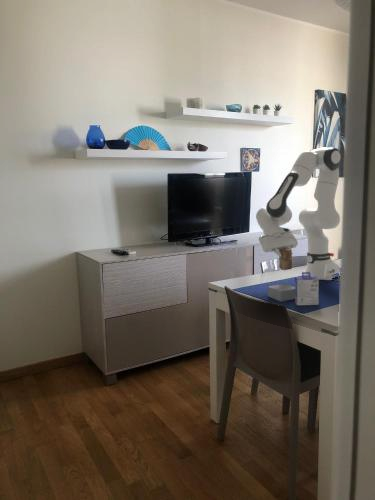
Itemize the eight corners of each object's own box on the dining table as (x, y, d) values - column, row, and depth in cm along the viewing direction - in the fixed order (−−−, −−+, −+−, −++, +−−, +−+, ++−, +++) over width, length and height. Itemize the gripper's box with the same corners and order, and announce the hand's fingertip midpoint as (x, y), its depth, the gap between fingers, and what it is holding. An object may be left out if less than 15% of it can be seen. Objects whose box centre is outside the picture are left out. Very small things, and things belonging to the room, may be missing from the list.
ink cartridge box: (315, 301, 191) (316, 271, 189) (319, 305, 186) (319, 274, 183) (294, 302, 191) (294, 272, 189) (297, 305, 186) (297, 274, 183)
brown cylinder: (286, 267, 213) (286, 248, 211) (291, 268, 209) (291, 249, 207) (279, 268, 211) (278, 249, 209) (284, 270, 207) (284, 250, 205)
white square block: (284, 293, 206) (284, 283, 205) (297, 298, 197) (297, 288, 196) (268, 296, 202) (268, 286, 201) (280, 301, 193) (280, 291, 192)
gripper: (259, 233, 208) (271, 254, 201) (292, 228, 217) (304, 249, 210) (255, 240, 213) (266, 262, 206) (286, 235, 221) (299, 256, 215)
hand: (286, 255), depth 208 cm, fingers closed on brown cylinder, 4 cm apart
